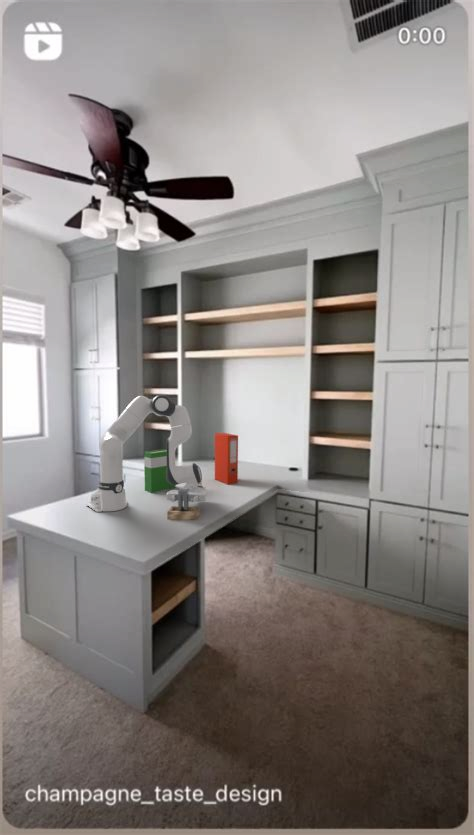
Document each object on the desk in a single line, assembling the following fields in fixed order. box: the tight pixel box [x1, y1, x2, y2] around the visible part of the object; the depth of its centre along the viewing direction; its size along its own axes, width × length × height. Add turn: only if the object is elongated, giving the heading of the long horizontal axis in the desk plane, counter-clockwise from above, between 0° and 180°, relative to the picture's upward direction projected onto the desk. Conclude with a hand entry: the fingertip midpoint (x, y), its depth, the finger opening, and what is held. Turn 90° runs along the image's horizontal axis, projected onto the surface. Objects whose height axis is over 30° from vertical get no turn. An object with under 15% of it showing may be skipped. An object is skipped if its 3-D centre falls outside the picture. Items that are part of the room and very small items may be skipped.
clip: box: [177, 488, 190, 511], centre depth 181 cm, size 4×4×12 cm
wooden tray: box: [166, 506, 200, 520], centre depth 181 cm, size 14×8×4 cm, turn 84°
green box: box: [143, 448, 177, 494], centre depth 230 cm, size 18×7×24 cm, turn 135°
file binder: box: [214, 432, 239, 486], centre depth 250 cm, size 8×17×32 cm, turn 32°
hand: (183, 500), depth 180 cm, fingers open, 8 cm apart
